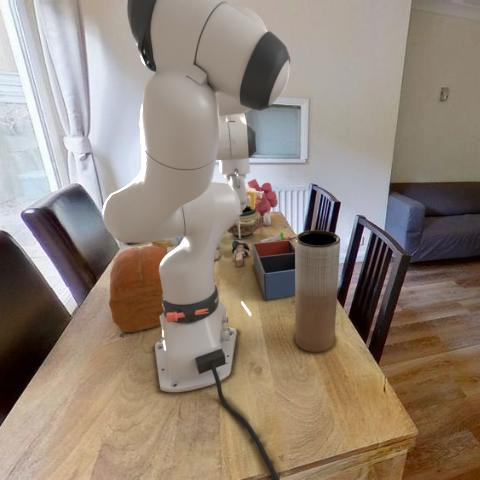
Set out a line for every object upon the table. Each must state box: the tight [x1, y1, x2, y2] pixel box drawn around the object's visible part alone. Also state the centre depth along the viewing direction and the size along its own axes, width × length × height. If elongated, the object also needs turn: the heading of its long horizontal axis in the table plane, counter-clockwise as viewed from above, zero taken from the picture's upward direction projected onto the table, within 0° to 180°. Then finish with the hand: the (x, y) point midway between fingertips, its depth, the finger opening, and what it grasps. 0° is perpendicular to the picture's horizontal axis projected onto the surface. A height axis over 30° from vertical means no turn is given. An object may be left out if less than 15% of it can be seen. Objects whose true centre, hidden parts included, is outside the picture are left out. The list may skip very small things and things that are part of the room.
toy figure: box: [231, 240, 252, 267], centre depth 120 cm, size 7×6×15 cm
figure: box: [245, 183, 264, 209], centre depth 136 cm, size 17×18×9 cm
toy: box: [247, 178, 279, 227], centre depth 159 cm, size 28×30×15 cm
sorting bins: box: [251, 239, 295, 301], centre depth 105 cm, size 24×14×9 cm, turn 19°
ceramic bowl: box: [226, 207, 263, 240], centre depth 140 cm, size 24×18×15 cm
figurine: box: [151, 237, 183, 252], centre depth 132 cm, size 13×25×6 cm, turn 154°
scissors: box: [284, 233, 299, 240], centre depth 139 cm, size 8×21×2 cm, turn 154°
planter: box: [294, 229, 341, 353], centre depth 73 cm, size 10×10×28 cm
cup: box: [257, 232, 285, 243], centre depth 126 cm, size 8×8×15 cm
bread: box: [108, 245, 168, 333], centre depth 88 cm, size 16×27×16 cm, turn 29°
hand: (238, 211), depth 98 cm, fingers closed on lollipop, 5 cm apart
